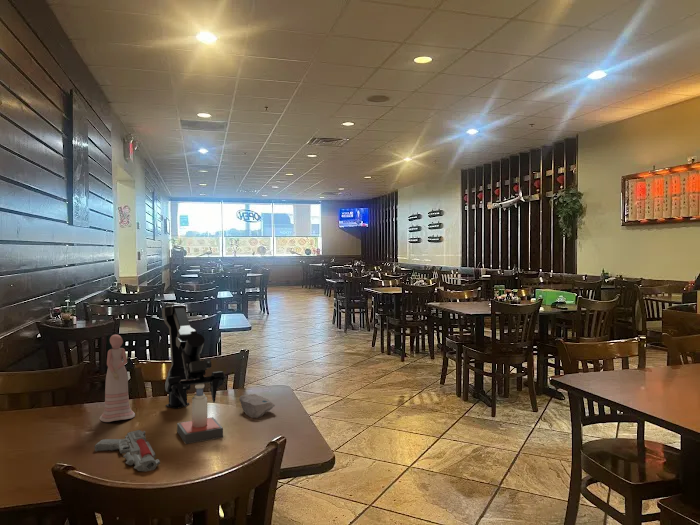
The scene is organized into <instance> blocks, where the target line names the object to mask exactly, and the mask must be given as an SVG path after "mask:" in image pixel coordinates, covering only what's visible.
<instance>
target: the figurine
mask: <svg viewBox="0 0 700 525" xmlns="http://www.w3.org/2000/svg"><path fill="white" fill-rule="evenodd" d="M123 343H124V340H123V337H122V336H121V335H119V334H112V335H111V336H110V337H109V344H110V345H111V348H110V349H109V350H108V351H107V357H106V367H107V369H106V370H107V371H106V376H105V384H104V385H105V387H104V388H105V390H104V410H103V412H102V414H101V415H100V417H99V421H101V422H103V423H111V422H115V421H116V422H117V421H125V420H129V419H130V420H131V419H133V418H135V417H136V413H135V412H134V411H133V410H132V409H131V406H130V400H129V379H128V378H129V377H128V371H127V369H126V366H125V365H126V364H128V358H127V357H128V356H127V354H126V349H125V348H123V347H122V345H123Z"/></svg>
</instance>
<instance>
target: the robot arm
mask: <svg viewBox="0 0 700 525" xmlns="http://www.w3.org/2000/svg"><path fill="white" fill-rule="evenodd" d="M161 310H162V311H161V313H162V314H161V317H162V318H163V321H164V322H163V323H164V324H165V325H166V326H167V328H168V330H169V332H168V334H169V346H170V360H171V361H170V362H171V363H170V364H171V366H170V368H169V370H168V372H167V376H166V380H165V383H164V390H165V392H166V393H167V394H168V404H166V405H165V407H167V408H171V409H181V408H183V407H184V408H186V407H188V406H189V405H190V402H188V394H187V391H188V390H191V385H192V386H193V385H194V386H195V384H198V383H203V384H206V383H207V384H208V383H209V384H210V387H209V388H210V394H211V400H212V402H213V403H215V402H216V399H217V398H216V397H217V389H219V388H220V387H221V386H223V384H224V382H225V379H226V375H225V374H226V373H225V372H224V371H221V370H219V371H212V372H211V375H210V376H206V371H207V369H211V368H212V360H211V358H210V357H207V358H204V359H203V360H201V355H200V354H202V350H203V348H204V344H205V337H204V336H203V335H202V334H199V333H198V331H197V330H196V329H195V328H193V327H192V326H191V324H190V322H189V318H188V315H187V314H188V312H187V306H186V305H185V304H172V305H166V306H165V307H164V308H162V309H161Z"/></svg>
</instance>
